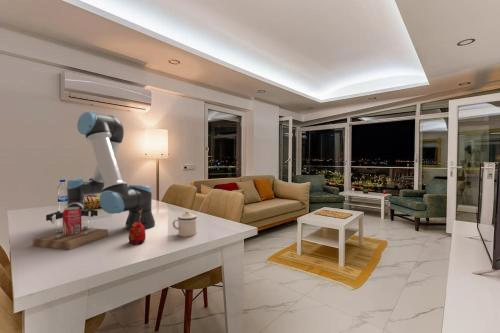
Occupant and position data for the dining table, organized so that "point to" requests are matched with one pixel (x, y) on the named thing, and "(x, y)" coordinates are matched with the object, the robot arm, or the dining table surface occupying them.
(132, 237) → the red clay folk toy
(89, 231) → the peg riser
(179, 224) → the teacup with lid
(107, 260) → the dining table surface
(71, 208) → the soda can
